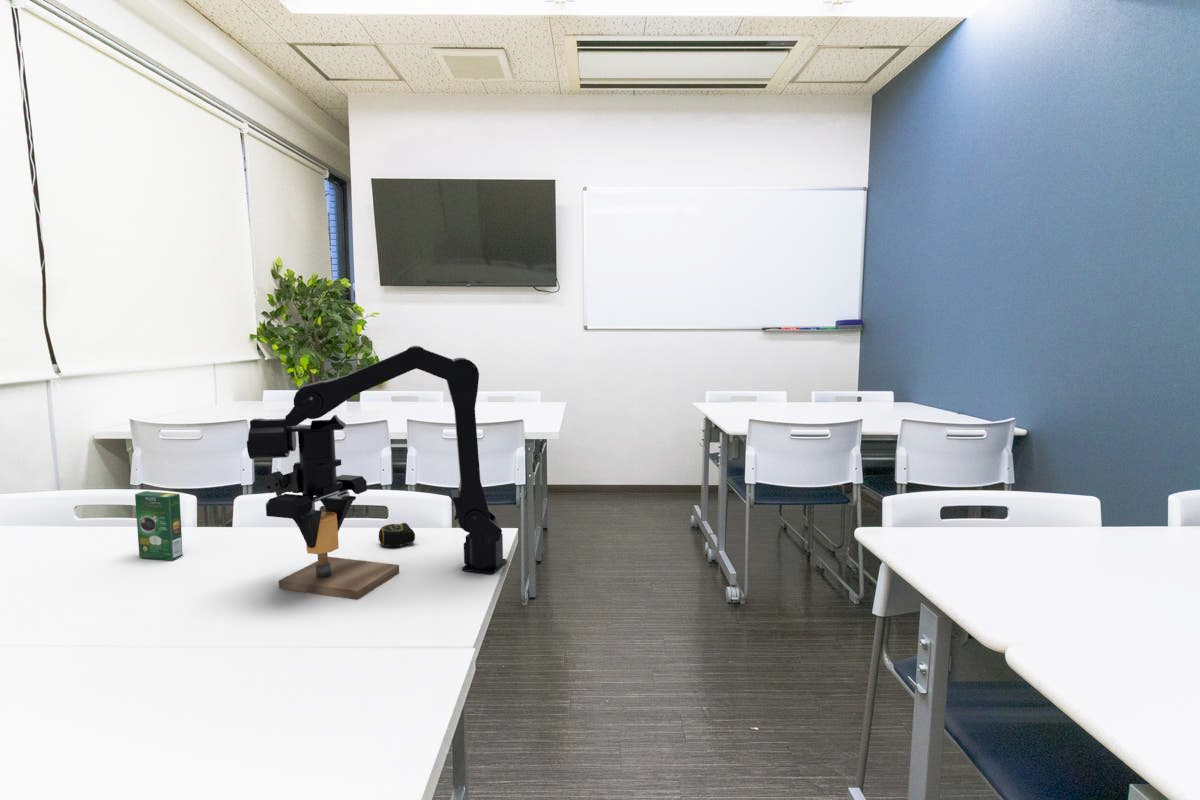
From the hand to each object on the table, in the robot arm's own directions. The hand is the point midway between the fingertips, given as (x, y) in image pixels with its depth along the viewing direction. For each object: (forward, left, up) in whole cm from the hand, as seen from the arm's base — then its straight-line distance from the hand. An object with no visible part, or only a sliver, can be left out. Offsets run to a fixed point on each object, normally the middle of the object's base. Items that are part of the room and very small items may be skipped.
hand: (322, 542), depth 110 cm
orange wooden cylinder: (0, 0, -1) cm, 1 cm away
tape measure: (0, -22, -8) cm, 24 cm away
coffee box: (+40, -2, -8) cm, 41 cm away
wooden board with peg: (-2, -2, -8) cm, 8 cm away
